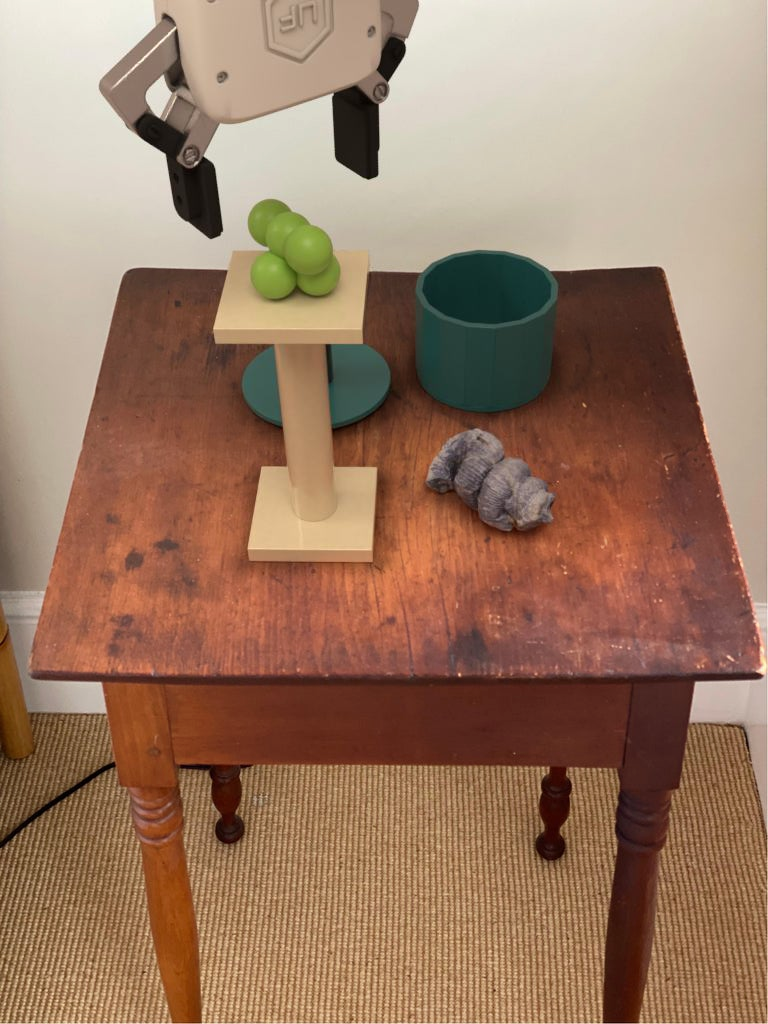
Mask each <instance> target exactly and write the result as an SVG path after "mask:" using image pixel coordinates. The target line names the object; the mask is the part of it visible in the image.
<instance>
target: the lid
mask: <svg viewBox="0 0 768 1024" xmlns="http://www.w3.org/2000/svg"><path fill="white" fill-rule="evenodd" d="M326 358H327V371H328V385H329V399H330V412H331V426H332V430H333V429H337V428H342V427H345V426H348V425H352V424H354V423H356V422H358V421H361V420H362V419H364V418H367V417H368V416H370V414H372V413H374V412H375V411H376V410H377V409H378V408H379V407H381V405H382V404H383V403H384V402H385V400H386V399H387V396H388V395H389V393H390V389H391V386H392V385H391V384H392V376H391V370H390V367H389V364H388V362H387V361H386V360H385V358H384V357H383V355H381V354H380V353H379V352H378V351H377V350H376V349H374V348H373V347H371V346H369V345H367V344H366V343H363V344H326ZM241 391H242V397H243V399H244V402H245V403H246V404H247V406H248V407H249V409H250V410H251V411H252V412H253V413H254V414H256V415H257V416H258V417H259V418H261V419H263V420H264V421H266V422H268V423H270V424H273V425H275V426H279V427H281V428H283V424H282V415H281V406H280V397H279V388H278V379H277V370H276V361H275V352H274V345H271V346H270V347H267V348H266V349H265V350H263V351H261V352H260V353H258V355H257V356H255V357H254V358H253V359H252V360H251V361H250V362H249V363H248V365H247V366H246V368H245V370H244V372H243V374H242V379H241Z"/></svg>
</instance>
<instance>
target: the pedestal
mask: <svg viewBox="0 0 768 1024" xmlns="http://www.w3.org/2000/svg"><path fill="white" fill-rule="evenodd" d="M267 251H269V249H268V250H265V249H264V250H262V249H261V250H232V252H231V257H230V260H229V264H228V269H227V273H226V277H225V281H224V284H223V288H222V292H221V297H220V299H219V304H218V308H217V312H216V316H215V320H214V323H213V328H212V331H213V337H214V338H213V339H214V344H216V345H273V346H274V352H275V361H276V370H277V379H278V388H279V397H280V406H281V415H282V424H283V427H282V432H283V441H284V448H285V449H284V450H285V458H286V466H284V465H282V466H278V465H275V466H274V465H272V466H271V465H269V466H268V465H264V466H261V467H260V473H259V479H258V484H257V490H256V495H255V496H256V497H255V502H254V508H253V512H252V519H251V524H250V531H249V535H248V542H247V556H248V561H249V562H274V563H275V562H277V563H278V562H281V563H282V562H283V563H286V562H287V563H291V562H294V563H373V561H374V553H375V552H374V550H375V534H376V516H377V503H378V502H377V501H378V500H377V499H378V483H379V473H378V472H379V471H378V467H377V466H335V456H334V454H335V453H334V443H333V429H332V426H331V412H330V399H329V385H328V371H327V358H326V344H364V338H365V337H364V336H365V335H364V334H365V325H366V323H365V322H366V313H367V302H368V291H369V290H368V289H369V278H370V267H371V263H370V249H362V250H361V249H347V250H345V249H341V250H340V249H337V250H336V249H335V250H334V249H333V254H334V255H335V257H336V258H337V260H338V262H339V265H340V270H341V274H340V279H339V282H338V284H337V285H336V287H335V288H334V289H333V290H332V291H330V292H329V293H327V294H324V295H319V296H315V295H310V294H307V293H305V292H304V291H302V290H301V289H300V288H299V287H298V285H297V284H296V286H295V288H294V289H293V291H292V292H291V293H290V294H288V295H287V296H285V297H283V298H279V299H270V298H266V297H264V296H262V295H261V294H259V293H258V292H257V291H256V289H255V288H254V286H253V285H252V282H251V278H250V271H251V267H252V264H253V262H254V260H255V259H256V258H257V257H258V256H259V255H261V254H262V253H264V252H267Z"/></svg>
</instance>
